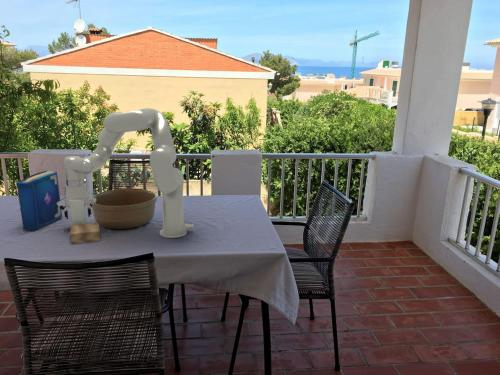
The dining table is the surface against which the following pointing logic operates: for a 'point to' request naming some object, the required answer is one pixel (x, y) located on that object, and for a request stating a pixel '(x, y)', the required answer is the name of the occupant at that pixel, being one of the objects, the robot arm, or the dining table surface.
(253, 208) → the dining table surface
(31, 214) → the book
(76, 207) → the skincare box
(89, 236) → the tan flat block
